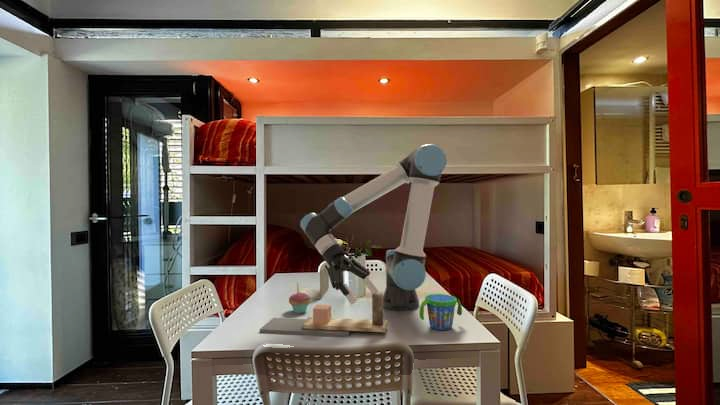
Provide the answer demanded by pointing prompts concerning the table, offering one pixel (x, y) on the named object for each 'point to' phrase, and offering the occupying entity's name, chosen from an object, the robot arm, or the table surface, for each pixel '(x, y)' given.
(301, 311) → the cupcake
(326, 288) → the laptop
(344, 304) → the table surface
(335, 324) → the tan wooden stand
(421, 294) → the table surface
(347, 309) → the table surface
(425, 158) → the robot arm
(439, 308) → the snack cup
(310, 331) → the lane board
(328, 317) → the cube
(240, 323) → the table surface
